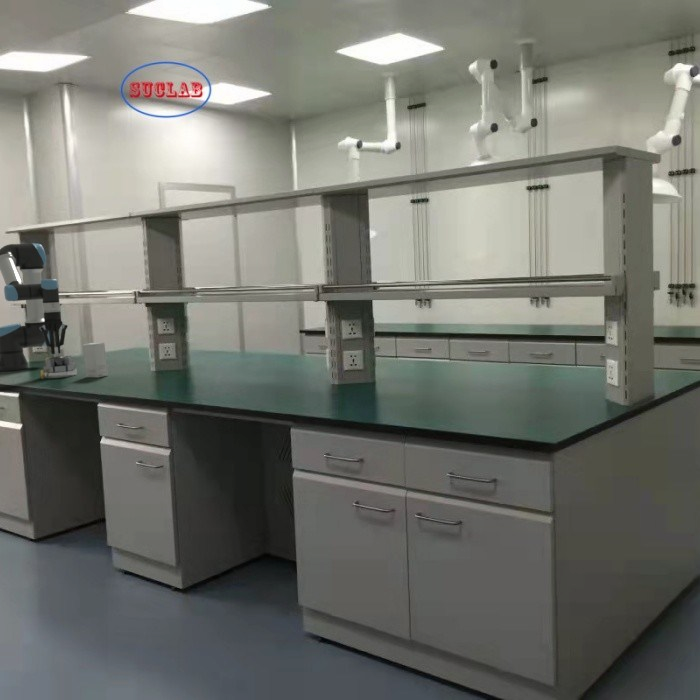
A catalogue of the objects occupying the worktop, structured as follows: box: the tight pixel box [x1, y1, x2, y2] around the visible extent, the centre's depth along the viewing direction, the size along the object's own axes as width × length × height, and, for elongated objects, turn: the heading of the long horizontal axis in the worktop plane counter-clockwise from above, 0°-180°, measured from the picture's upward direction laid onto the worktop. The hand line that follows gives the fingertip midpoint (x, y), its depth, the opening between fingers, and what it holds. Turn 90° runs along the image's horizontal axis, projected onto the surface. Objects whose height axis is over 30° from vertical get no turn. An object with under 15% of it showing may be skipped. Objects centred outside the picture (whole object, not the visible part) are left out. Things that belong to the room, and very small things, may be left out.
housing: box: [44, 355, 78, 379], centre depth 361 cm, size 15×15×9 cm
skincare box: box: [82, 342, 109, 379], centre depth 352 cm, size 8×7×16 cm
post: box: [40, 369, 46, 380], centre depth 354 cm, size 2×2×4 cm
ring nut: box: [43, 355, 77, 372], centre depth 361 cm, size 14×14×6 cm
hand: (56, 360), depth 366 cm, fingers closed
